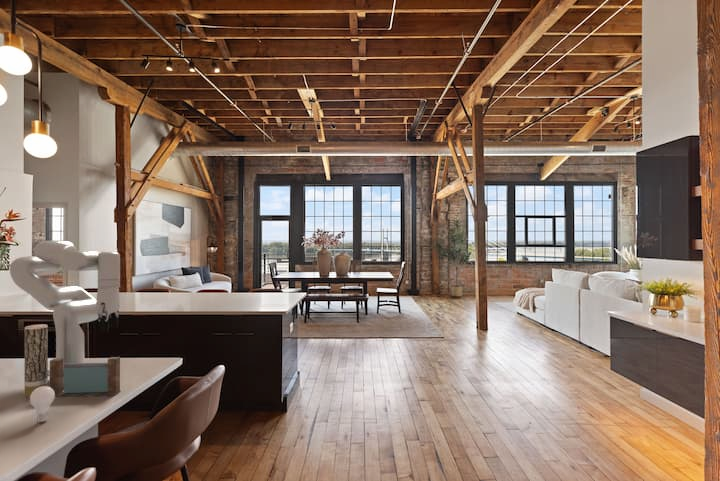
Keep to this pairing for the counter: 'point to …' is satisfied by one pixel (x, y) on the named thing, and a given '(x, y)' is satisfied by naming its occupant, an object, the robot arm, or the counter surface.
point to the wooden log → (36, 357)
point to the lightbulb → (42, 401)
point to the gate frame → (113, 389)
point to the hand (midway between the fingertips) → (108, 329)
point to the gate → (85, 377)
